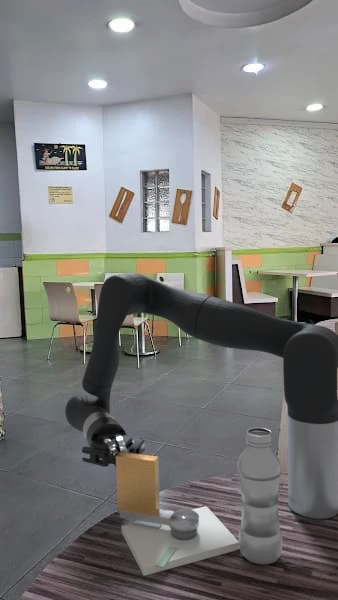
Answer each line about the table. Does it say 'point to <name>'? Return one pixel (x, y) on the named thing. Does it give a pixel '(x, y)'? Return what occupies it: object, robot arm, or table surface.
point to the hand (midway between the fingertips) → (126, 467)
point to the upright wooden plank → (147, 494)
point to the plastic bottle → (259, 499)
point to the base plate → (177, 542)
